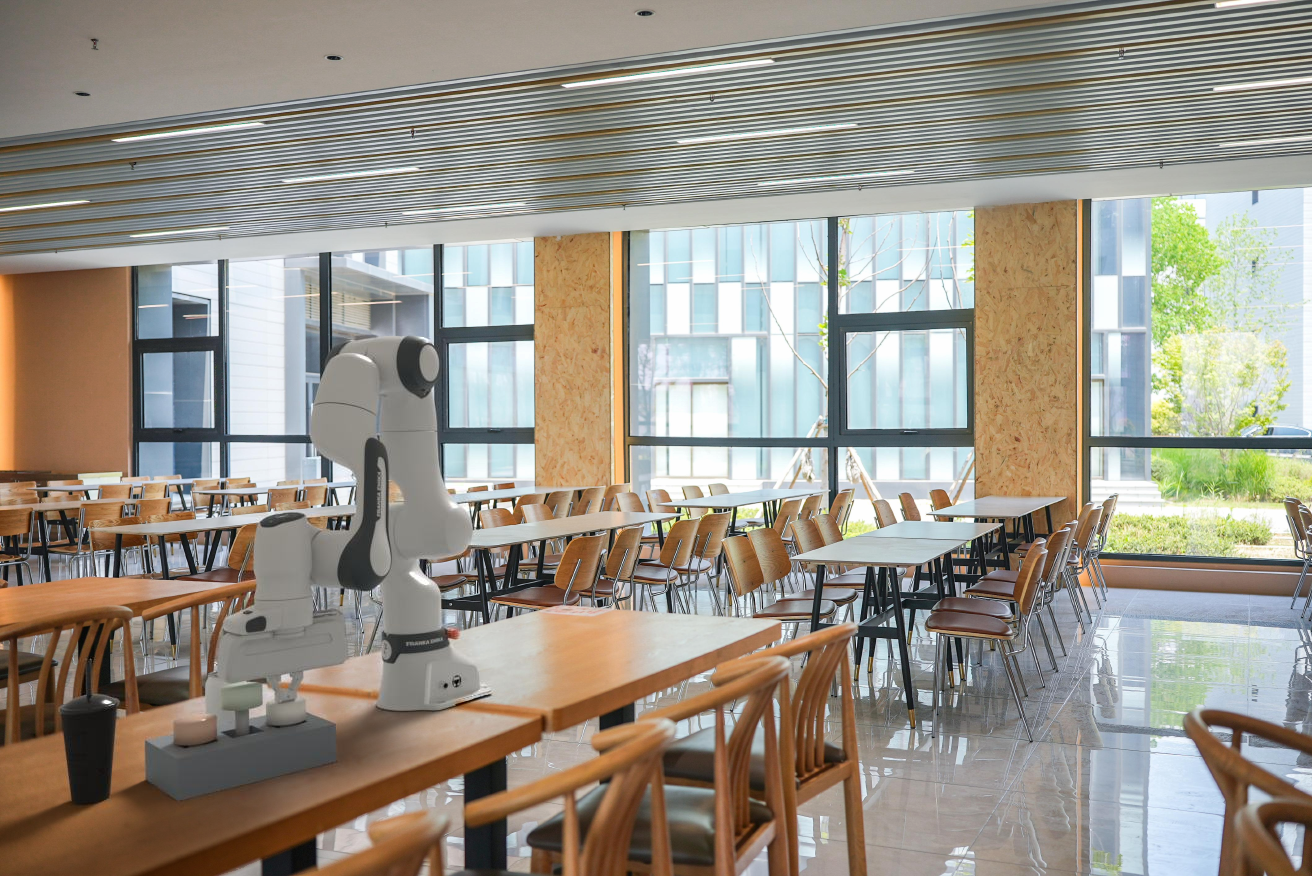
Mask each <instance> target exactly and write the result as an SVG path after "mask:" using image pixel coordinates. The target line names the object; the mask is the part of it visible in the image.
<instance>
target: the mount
mask: <svg viewBox="0 0 1312 876" xmlns="http://www.w3.org/2000/svg"><path fill="white" fill-rule="evenodd" d="M337 749H338V748H337V723H335V722H333V721H330V720H328V719H325V718H323V717H320V716H317V715H314V714H313V713H309V712H307V711H306V719H305V720H304V721H302V722H299V723H295V724H293V725H291V726H287V727H282V728H280V725H269V724H267V723H266V714H264V715H259V716H256V717H249V735H245V736H240V737H236V733H235V722H230V723H225V724H220V725H217V738H216V739H214V740H212V741H210V742H206V743H203V745H199V746H194V747H189V748H188V745H177V744H174V737H173V734H168V735H161V736H157V737H153V738H148V739H144V755H145V756H144V762H145V763H144V765H145V766H144V770H145V772H144V774H145V776H144V777H145V780H146V781H147V780H148V781H147V782H149V783H150V782H151V783H150V784H152V785H153V784H154V785H153V786H154V787H156V786H157V787H156V788H158V789H159V790H161V791H162V792H164V793H165V794H166V795H168V796H170V797H171V798H173V800H175V801H177V802H180V801H184V800H187V799H188V800H189V799H193V798H195V797H201V796H204V794H205V795H208V793H209V794H212V793H211V792H213V793H216V792H215V791H217V792H219V791H218V790H221V791H224V789H225V790H229V789H232V788H236V787H242V786H244V785H248V784H252V783H255V782H256V783H257V782H261V781H264V780H269V779H272V778H277V777H280V776H285V775H289V774H293V773H297V772H300V771H305V770H309V769H313V768H317V767H320V765H321V766H324V765H323V764H325V765H329V764H332V762H333V763H337V762H336V761H338V754H337V753H338V752H337V751H338V750H337ZM328 763H329V764H328ZM316 766H317V767H316ZM312 767H313V768H312ZM200 795H201V796H200Z"/></svg>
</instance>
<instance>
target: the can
mask: <svg viewBox="0 0 1312 876" xmlns="http://www.w3.org/2000/svg"><path fill="white" fill-rule="evenodd" d="M244 682H247V681H244ZM238 683H242V682H238ZM232 684H234V683H232ZM226 685H229V683H226V682H224V681H222V680H221V679H220V678H219V676H218V672H217V670H216V671H211V672H209V673H208V674H207V680H206V682H205V684H204V686H205V687H204V691H205V692H204V694H205V695H204V698H205V699H204V700H205V701H204V703H205V704H204V705H205V706H204V707H205V709H204V710H205V714H212V715H216V716H217V725H220V724H225V723H230V722H235V711H226V710H222V709H221V687H223V686H226Z"/></svg>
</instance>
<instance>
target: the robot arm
mask: <svg viewBox="0 0 1312 876" xmlns="http://www.w3.org/2000/svg"><path fill="white" fill-rule="evenodd" d="M325 358H326V359H325V363H324V371H323V374H322V376H321V378H320V381H319V383H318V388H317V390H316V394H315V398H314V401H313V406H312V411H311V414H310V420H309V421H310V422H309V438H310V441H311V443H312V445H313V447H314V448H315V449H316V450H317V452H318V453H319V454H320V455H322V456H323V457H324V458H326V459H327V460H329V461H331V462H333V463H335V464H337V465H340V466H343V467H344V468H347V469H349V470H350V471H351V472H352V474H353V475H354V478H355V482H356V495H355V496H356V499H355V500H356V503H355V504H356V505H355V507H356V510H355V513H354V515H353V516H352V517H351V521H350V524H349V527H348V530H344V529H343V530H337V529H336V530H329V529H322V528H320V527H318V526H315V525H314V524H312V523H311V522H309V520H308V517H307V515H306V514H304V513H302V512H299V511H296V512H295V511H290V512H282V513H275V514H271V515H268V516H266V517H264V518H262V519H261V520H260V521H259V522H258V523H257V524H258V525H257V526H256V531H255V533H254V534H255V535H254V543H253V573H254V576H255V580H256V587H255V593H254V597H253V598H254V599H253V600H254V603H253V605H250V606H249V607H247V608H244V609H242V610H240V611H238V612H235V613H233V614H231V615H228V616H226V617H225V618H223V621H222V628H223V630H224V631H226V633H225V634H224V635H223V636H222V637H221V639H220V642H219V645H218V652H217V664H216V665H217V666H216V668H217V669H216V671H217V672H218V676H219V678H220V679H221V680H222V681H224V682H226V683H229V684H232V683H238V682H244V681H246V682H250V681H253V680H260V679H266V682H267V683H268V685H269V686H270V688H271V689H272V690H273V692H274V699H275V702H276V703H283V702H288V701H294V700H296V699H297V697H298V696H297V695H298V693H297V692H298V689H299V687H300V685H301V683H302V681H303V680H304V671H311V670H316V669H317V670H318V669H321V668H322V669H323V668H327V667H332V666H338V665H343V664H345V662H346V661H347V659H348V656H349V653H348V644H347V636H346V631H345V629H346V616H345V614H344V613H343V611H341V610H338V609H337V608H328V609H318V610H314V596H313V594H314V592H313V587H314V588H321V589H347V590H352V591H357V592H358V591H359V592H370V591H372V590H374V589H375V588H376V587H378V586H379V588H380V594H381V601H382V619H383V621H382V622H383V624H382V625H383V630H382V631H381V634H380V635H381V641H380V644H381V659H382V674H381V681H380V688H379V691H378V692H379V693H378V695H377V696H378V697H377V701H376V704H375V705H376V706H377V708H380V709H382V710H383V709H384V710H388V711H399V712H400V711H403V712H404V711H406V712H407V711H440V710H443V709H448V708H451V707H454V706H456V705H455V704H456V702H457V701H458V700H461V699H465V698H469V697H472V696H476V695H481V694H485V693H489V692H491V691H493V690H492V688H491V686H489V685H487V684H485V683H483V682H482V683H481V678H480V673H479V669H478V666H477V664H476V663H475V662H474V661H473V660H472V659H471V658H470V657H468V656H467V655H465V654H464V653H462V652H461V651H459V650H458V649H456V648H455V647H454V646H452V645H451V642H450V640H449V639H452V640H453V641H455V640H458V639H459V637H460V636H461V632H460V630H459V629H456V628H449V629H447V628H445V627H443V626H442V593H441V590H440V587H439V586H438V584H437V583H436V582H435V581H434V580H432V579H431V578H429V577H427V576H426V574H424V572H423V571H422V569H421V567H420V565H419V562H418V560H419V559H420V560H441V559H447V558H452V557H455V556H461V555H462V554H463V553H464V552H466V550H467V549H468V547H469V546H470V543H471V541H472V538H473V533H474V531H473V530H474V528H473V523H472V522H473V521H472V519H471V516H470V515H469V513H468V512H467V510H466V509H465V508H464V507H462V506H461V505H460V504H459V503H458V502H457V501H456V500H455V499H454V498H453V496H452V495H451V494H450V492H449V490H448V489H447V487H446V484H445V483H444V479H443V477H442V474H441V469H440V461H439V460H440V459H439V447H438V446H439V444H438V420H437V411H436V405H435V403H436V402H435V399H434V395H433V388H434V386H435V385H436V383H437V381H438V379H439V375H440V371H441V358H440V354H439V350H438V349H437V347H436V346H435V344H433V342H432V341H431V340H430V339H428V338H426V337H423V336H418V335H410V334H409V335H406V336H403V335H400V336H399V335H380V336H379V335H378V336H376V337H370V338H365V339H363V338H362V339H359V340H352V339H351V340H346V341H343V342H340V343H338V344H335V345H334V346H333V347H331V349H330V351H329V352H328V354H327V356H326V357H325ZM380 399H381V401H380ZM379 410H380V411H379ZM378 415H379V422H377V421H378ZM377 423H379V426H378V427H379V436H378V434H377ZM390 481H391V482H392V483H394V484H395V485H396V486H397V487H398V489H399V490H400V492H401V495H402V497H403V501H404V502H390ZM288 674H289V677H290V678H292V679H291V680H290V683H289V685H288V687H287V688H283V689H282V687H281V685H280V684H279V682H282V675H288Z"/></svg>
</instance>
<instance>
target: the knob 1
mask: <svg viewBox="0 0 1312 876" xmlns="http://www.w3.org/2000/svg"><path fill="white" fill-rule="evenodd" d="M172 725H173V726H172V730H173V731H172V732H173V737H174V744H177V745H188V748H189V747H194V746H199V745H203V743H206V742H210V741H212V740H214V739H216V738H217V716H216V715H212V714H206V713H200V714H191V715H186V716H182V717H179V718H176V719H174V720H173V723H172Z"/></svg>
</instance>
